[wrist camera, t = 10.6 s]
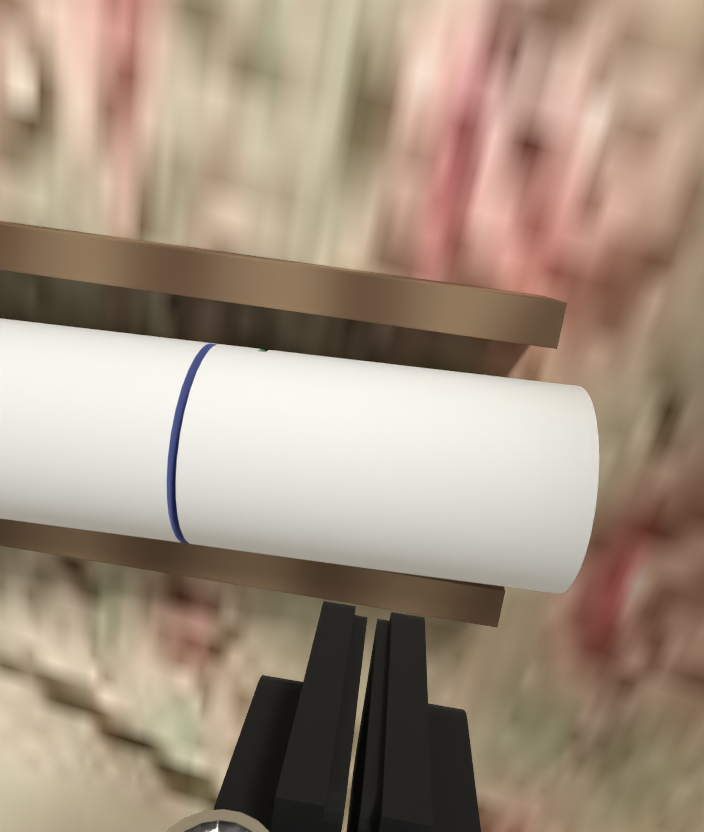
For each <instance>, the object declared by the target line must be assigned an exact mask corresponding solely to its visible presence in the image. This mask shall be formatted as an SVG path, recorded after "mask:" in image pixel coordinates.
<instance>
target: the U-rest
mask: <svg viewBox="0 0 704 832" xmlns="http://www.w3.org/2000/svg"><path fill="white" fill-rule="evenodd" d="M0 270H5V271H12V272H19V273H26V274H33V275H40V276H47V277H55V278H62V279H69V280H76V281H83V282H90V283H97V284H104V285H111V286H118V287H125V288H132V289H139V290H146V291H153V292H160V293H167V294H174V295H181V296H188V297H195V298H202V299H209V300H216V301H224V302H231V303H238V304H245V305H252V306H259V307H266V308H273V309H280V310H287V311H294V312H301V313H308V314H315V315H322V316H329V317H336V318H343V319H350V320H357V321H364V322H371V323H378V324H385V325H392V326H400V327H407V328H414V329H421V330H428V331H435V332H442V333H449V334H456V335H463V336H470V337H477V338H484V339H491V340H498V341H505V342H512V343H519V344H526V345H533V346H540V347H547V348H554V349H557V346H558V342H559V337H560V332H561V328H562V323H563V318H564V314H565V309H566V304H567V303H564V302H561V301H558V300H555V299H552V298H549V297H546V296H540V295H532V294H525V293H518V292H511V291H503V290H496V289H489V288H482V287H474V286H467V285H460V284H453V283H445V282H438V281H431V280H424V279H416V278H409V277H402V276H395V275H387V274H380V273H373V272H366V271H358V270H351V269H344V268H337V267H329V266H322V265H315V264H308V263H300V262H293V261H286V260H279V259H271V258H264V257H257V256H250V255H242V254H235V253H228V252H221V251H213V250H206V249H199V248H192V247H184V246H177V245H170V244H163V243H155V242H148V241H141V240H134V239H126V238H119V237H112V236H105V235H97V234H90V233H83V232H76V231H68V230H61V229H54V228H47V227H39V226H32V225H25V224H18V223H10V222H3V221H0ZM0 545H1V546H7V547H13V548H19V549H25V550H31V551H37V552H43V553H49V554H56V555H62V556H68V557H74V558H80V559H86V560H92V561H98V562H104V563H110V564H116V565H122V566H128V567H134V568H140V569H146V570H153V571H159V572H165V573H171V574H177V575H183V576H189V577H195V578H201V579H207V580H213V581H219V582H225V583H231V584H237V585H243V586H250V587H256V588H262V589H268V590H274V591H280V592H286V593H292V594H298V595H304V596H310V597H316V598H322V599H328V600H334V601H340V602H347V603H353V604H359V605H365V606H371V607H377V608H383V609H389V610H395V611H401V612H407V613H413V614H419V615H425V616H431V617H437V618H444V619H450V620H456V621H462V622H468V623H474V624H480V625H486V626H492V627H497V626H498V622H499V617H500V612H501V608H502V603H503V598H504V594H505V590H504V586H496V585H489V584H481V583H474V582H466V581H459V580H451V579H444V578H436V577H429V576H421V575H414V574H406V573H398V572H391V571H383V570H376V569H369V568H361V567H354V566H347V565H340V564H332V563H325V562H318V561H311V560H303V559H296V558H289V557H282V556H275V555H267V554H260V553H253V552H246V551H238V550H231V549H224V548H217V547H210V546H202V545H195V544H189V543H180V542H173V541H165V540H158V539H150V538H143V537H135V536H128V535H120V534H113V533H105V532H98V531H90V530H83V529H75V528H68V527H60V526H52V525H45V524H37V523H30V522H22V521H15V520H8V519H0Z"/></svg>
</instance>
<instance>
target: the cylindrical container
mask: <svg viewBox="0 0 704 832" xmlns="http://www.w3.org/2000/svg"><path fill="white" fill-rule="evenodd" d="M598 478H599V438H598V429H597V420H596V416H595V411H594V407H593V404H592V401H591V399H590V396H589V394H588V393H587V392H586V390H585V389H584V388H582V387H580V386H576V385H567V384H559V383H550V382H541V381H533V380H524V379H515V378H507V377H498V376H490V375H481V374H472V373H464V372H455V371H447V370H438V369H429V368H421V367H412V366H404V365H395V364H386V363H378V362H369V361H361V360H352V359H343V358H335V357H326V356H318V355H309V354H300V353H292V352H283V351H275V350H268V351H265V350H263V349H257V348H249V347H240V346H232V345H223V344H215V343H206V342H198V341H189V340H181V339H172V338H164V337H155V336H146V335H138V334H129V333H121V332H112V331H104V330H95V329H87V328H78V327H70V326H61V325H53V324H44V323H36V322H27V321H19V320H10V319H1V318H0V519H8V520H15V521H22V522H30V523H37V524H45V525H52V526H60V527H68V528H75V529H83V530H90V531H98V532H105V533H113V534H120V535H128V536H135V537H143V538H150V539H158V540H165V541H173V542H180V543H189V544H195V545H202V546H210V547H217V548H224V549H231V550H238V551H246V552H253V553H260V554H267V555H275V556H282V557H289V558H296V559H303V560H311V561H318V562H325V563H332V564H340V565H347V566H354V567H361V568H369V569H376V570H383V571H391V572H398V573H406V574H414V575H421V576H429V577H436V578H444V579H451V580H459V581H466V582H474V583H481V584H489V585H496V586H504V587H511V588H519V589H526V590H534V591H541V592H549V593H556V594H561V593H563V592H565V591H567V590H568V588H569V587H570V586H571V585H572V583H573V582H574V580H575V578H576V576H577V574H578V572H579V570H580V568H581V566H582V563H583V560H584V557H585V554H586V551H587V547H588V543H589V540H590V536H591V531H592V526H593V521H594V515H595V509H596V500H597V492H598Z"/></svg>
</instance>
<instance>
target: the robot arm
mask: <svg viewBox="0 0 704 832" xmlns="http://www.w3.org/2000/svg"><path fill="white" fill-rule="evenodd" d="M355 608H356V606H351V605H345V604H339V603H332V602H326V601H324V602H323V605H322V609H321V614H320V618H319V622H318V626H317V630H316V634H315V638H314V642H313V646H312V650H311V654H310V658H309V662H308V666H307V670H306V674H305V678H304V682H299V681H293V680H287V679H281V678H276V677H270V676H264V675H262V676H261V678H260V680H259V682H258V685H257V688H256V691H255V693H254V696H253V699H252V702H251V705H250V708H249V710H248V713H247V716H246V719H245V722H244V725H243V727H242V730H241V733H240V736H239V739H238V742H237V744H236V747H235V750H234V753H233V756H232V759H231V761H230V764H229V767H228V770H227V773H226V776H225V778H224V781H223V784H222V787H221V790H220V792H219V795H218V798H217V801H216V804H215V807H214V809H213V810H209V811H202V812H200V813H197V814H194V815H191V816H189V817H186V818H184V819H183V820H181V821H180V822H178V823H177V824H175V825H174V826H173V827H171V828H170V829H168V831H167V832H341V830H342V823H343V816H344V809H345V801H346V794H347V786H348V777H349V769H350V760H351V752H352V743H353V735H354V726H355V718H356V709H357V701H358V692H359V684H360V675H361V667H362V658H363V649H364V641H365V632H366V624H367V617H362V616H356V615H355ZM347 832H481V828H480V820H479V812H478V804H477V796H476V787H475V779H474V771H473V763H472V755H471V747H470V738H469V730H468V722H467V716H466V712H465V711H464V710H462V709H456V708H450V707H444V706H438V705H433V704H428V692H427V666H426V641H425V620H424V618H423V617H417V616H411V615H405V614H399V613H393V612H392V613H391V616H390V621H386V620H380V619H378V620H377V625H376V631H375V637H374V643H373V649H372V656H371V662H370V668H369V674H368V681H367V687H366V693H365V700H364V706H363V712H362V718H361V725H360V731H359V737H358V743H357V750H356V756H355V763H354V770H353V779H352V788H351V797H350V806H349V815H348V824H347Z"/></svg>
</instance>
